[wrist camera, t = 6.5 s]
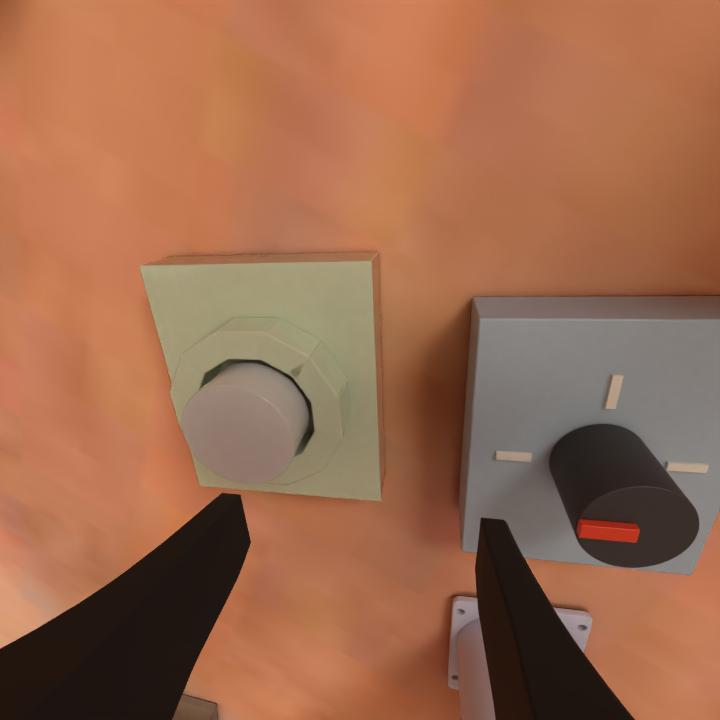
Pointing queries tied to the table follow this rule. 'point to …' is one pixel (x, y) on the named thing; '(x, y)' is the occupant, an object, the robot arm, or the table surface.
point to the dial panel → (586, 407)
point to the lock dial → (621, 498)
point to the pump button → (246, 423)
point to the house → (195, 709)
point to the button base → (284, 353)
